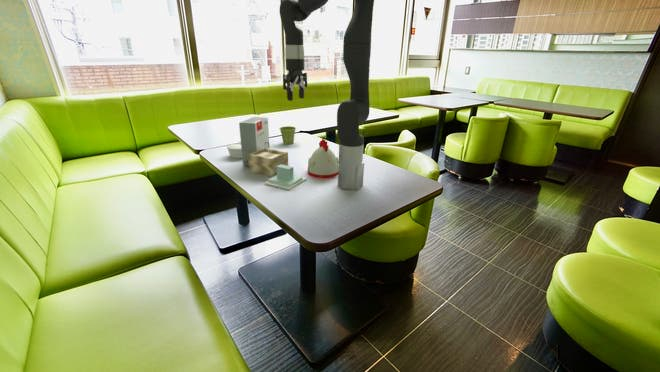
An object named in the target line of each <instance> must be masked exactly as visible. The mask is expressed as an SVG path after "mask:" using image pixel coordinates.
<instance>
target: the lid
mask: <svg viewBox="0 0 660 372" xmlns="http://www.w3.org/2000/svg"><path fill="white" fill-rule="evenodd" d="M302 178H303V177H301V176H298V175H294V166H291V165H288V166H287V165H282V164H281V165H279V166H277V175H276V176H274V177H270V178H268V179H267V181H268V182H272V183H276V184H280V185H284V186H288V187H291V186H293V185H294V184H296V183H298V182H299V181H301V180H302Z"/></svg>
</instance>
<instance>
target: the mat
mask: <svg viewBox="0 0 660 372" xmlns="http://www.w3.org/2000/svg"><path fill="white" fill-rule="evenodd" d="M305 181H307V178H305V177H302V180H301V181H299V182H298V183H296V184H294V185H293V186H291V187H288V186H284V185H280V184H276V183H272V182H268V180H267V181H265V182H264V183H263V184H264V185H267V186H270V187H275V188H279V189H283V190H286V191H290V190H292V189H294V188H295V187H297V186H299V185H300V184H302V183H303V182H305Z"/></svg>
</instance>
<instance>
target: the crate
mask: <svg viewBox="0 0 660 372" xmlns="http://www.w3.org/2000/svg"><path fill="white" fill-rule="evenodd" d="M248 159H249V166H248V170H249V172H250V173H254V174H259V175H263V176H268V177H270V178H272V177H274V176H276V175H277V166H279V165H281V164H282V165H287V166H289V152H288V151H284V150H278V149H274V148H273V149H272V148H270V149H268V148H263V149H260V150H258V151H255V152H252V153H250V154H248Z"/></svg>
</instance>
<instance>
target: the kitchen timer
mask: <svg viewBox="0 0 660 372" xmlns="http://www.w3.org/2000/svg"><path fill="white" fill-rule="evenodd" d="M318 146H319V147H318V148H316V149H315V150H314V151H313V152H312V154H311V156H310V157H308V162H307V164H308V166H307V175H308V176H310V177H312V178H315V179H322V180H323V179H324V180H325V179H331V178H332V179H333V178H336V177H338V167H339V156H336V154H335V153H334V152H333V151H332V150H331V148H329V147H330V145H329V144H328V141H326V139H325V138H322V139H321V140H320V142H318Z"/></svg>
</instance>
